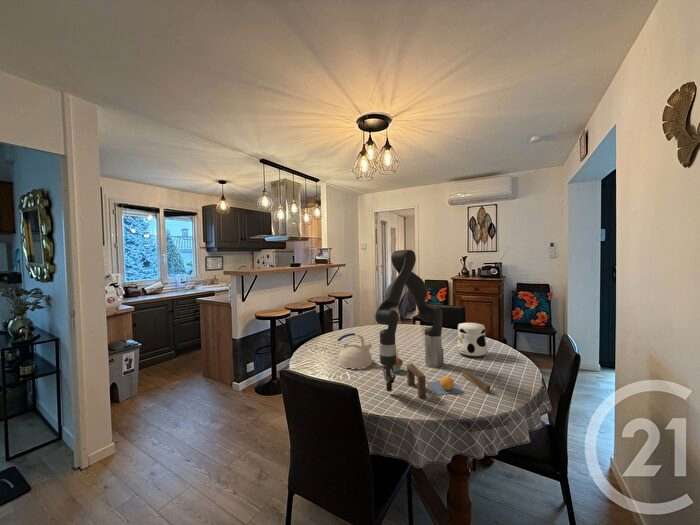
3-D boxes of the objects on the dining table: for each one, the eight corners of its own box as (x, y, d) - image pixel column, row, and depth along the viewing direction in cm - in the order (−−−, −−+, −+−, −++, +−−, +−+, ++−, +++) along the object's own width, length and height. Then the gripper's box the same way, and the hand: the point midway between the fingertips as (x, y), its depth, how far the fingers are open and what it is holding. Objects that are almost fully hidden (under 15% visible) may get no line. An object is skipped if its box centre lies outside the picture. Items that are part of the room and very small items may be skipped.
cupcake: (401, 367, 166) (400, 346, 165) (404, 373, 157) (403, 351, 157) (386, 368, 165) (385, 346, 165) (388, 374, 157) (387, 351, 157)
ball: (441, 372, 140) (437, 384, 140) (445, 378, 134) (440, 390, 134) (453, 376, 139) (449, 388, 140) (457, 382, 133) (453, 394, 134)
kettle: (370, 370, 163) (369, 338, 163) (334, 369, 167) (332, 337, 167) (374, 358, 183) (373, 329, 182) (342, 356, 187) (341, 328, 187)
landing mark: (450, 380, 147) (450, 379, 147) (464, 391, 134) (464, 391, 134) (425, 383, 145) (425, 382, 145) (437, 395, 132) (437, 394, 132)
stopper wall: (465, 375, 152) (465, 369, 152) (490, 392, 132) (490, 386, 132) (462, 375, 152) (462, 369, 152) (486, 393, 132) (486, 386, 132)
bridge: (413, 383, 145) (412, 363, 144) (426, 397, 130) (425, 375, 130) (407, 384, 144) (406, 364, 144) (419, 398, 129) (418, 376, 129)
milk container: (451, 352, 188) (450, 324, 188) (472, 348, 194) (471, 321, 194) (471, 360, 172) (470, 330, 172) (493, 356, 178) (493, 326, 178)
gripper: (400, 356, 129) (401, 396, 129) (391, 347, 142) (392, 383, 142) (384, 358, 127) (385, 398, 128) (376, 349, 140) (377, 385, 141)
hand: (389, 390), depth 135 cm, fingers closed
